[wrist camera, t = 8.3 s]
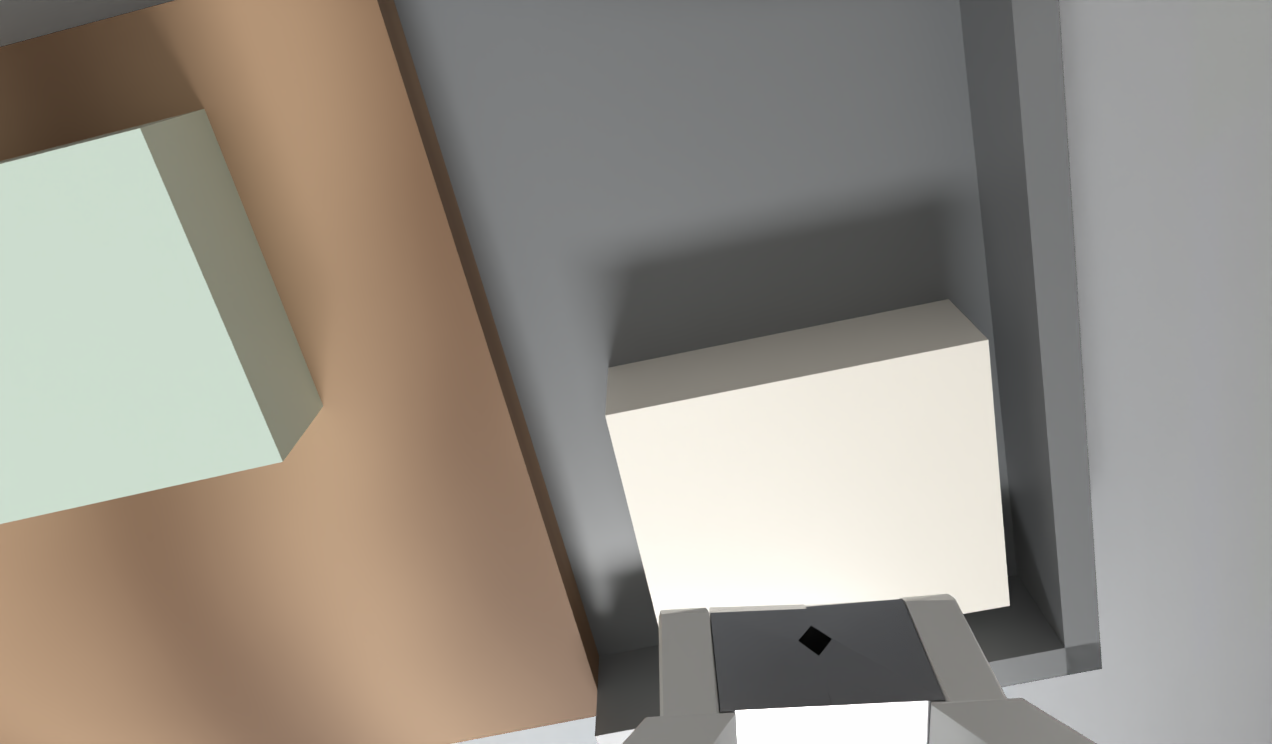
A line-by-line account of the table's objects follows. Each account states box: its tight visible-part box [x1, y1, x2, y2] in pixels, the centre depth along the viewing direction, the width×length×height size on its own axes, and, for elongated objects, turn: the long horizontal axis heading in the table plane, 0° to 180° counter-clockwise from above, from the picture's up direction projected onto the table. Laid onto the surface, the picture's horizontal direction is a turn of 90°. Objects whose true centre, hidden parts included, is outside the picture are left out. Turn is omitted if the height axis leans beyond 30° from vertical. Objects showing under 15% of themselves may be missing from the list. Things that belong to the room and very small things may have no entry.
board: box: [0, 0, 599, 744], centre depth 17 cm, size 12×14×1 cm
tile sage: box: [0, 109, 323, 524], centre depth 14 cm, size 6×5×2 cm
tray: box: [394, 0, 1102, 744], centre depth 16 cm, size 9×14×2 cm, turn 13°
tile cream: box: [605, 299, 1010, 627], centre depth 17 cm, size 6×5×2 cm
